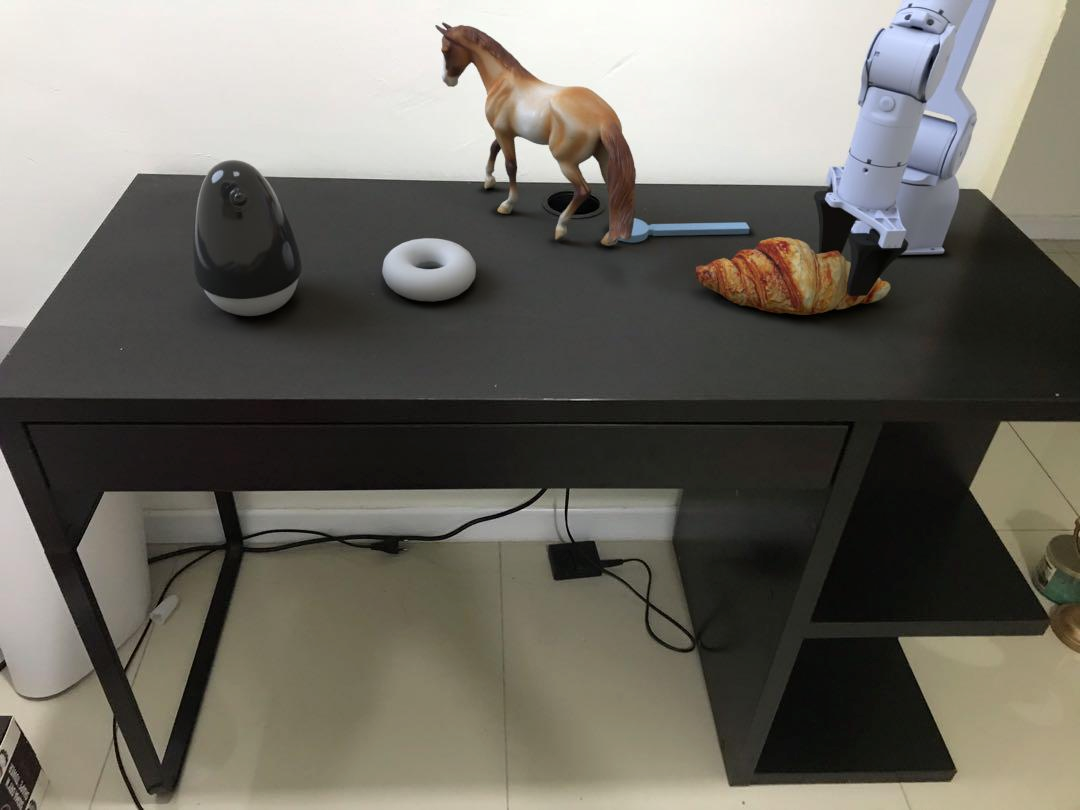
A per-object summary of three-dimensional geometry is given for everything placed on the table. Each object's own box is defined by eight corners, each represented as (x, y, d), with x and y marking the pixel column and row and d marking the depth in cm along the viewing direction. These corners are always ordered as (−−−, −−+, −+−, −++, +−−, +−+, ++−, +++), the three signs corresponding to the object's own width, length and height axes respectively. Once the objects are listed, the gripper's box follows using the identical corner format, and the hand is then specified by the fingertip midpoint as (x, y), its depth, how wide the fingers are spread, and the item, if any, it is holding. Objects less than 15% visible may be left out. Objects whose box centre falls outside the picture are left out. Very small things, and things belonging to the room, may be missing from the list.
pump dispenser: (208, 338, 88) (177, 193, 78) (198, 284, 95) (168, 146, 86) (314, 321, 91) (296, 180, 82) (296, 270, 99) (278, 135, 89)
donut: (447, 318, 93) (492, 273, 100) (446, 290, 91) (492, 245, 98) (365, 292, 96) (414, 250, 103) (362, 264, 94) (412, 223, 101)
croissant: (867, 314, 104) (876, 243, 102) (905, 323, 94) (916, 245, 93) (684, 303, 103) (690, 231, 101) (703, 311, 93) (710, 232, 91)
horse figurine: (434, 188, 116) (430, 20, 103) (479, 172, 120) (481, 9, 107) (617, 287, 99) (640, 101, 86) (662, 263, 104) (690, 84, 91)
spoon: (741, 222, 113) (742, 214, 112) (752, 240, 109) (754, 232, 109) (606, 224, 111) (607, 217, 110) (613, 243, 107) (614, 235, 106)
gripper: (812, 126, 95) (784, 242, 103) (870, 188, 83) (833, 312, 92) (876, 126, 96) (842, 241, 104) (942, 187, 84) (898, 310, 93)
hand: (842, 274), depth 98 cm, fingers open, 7 cm apart
